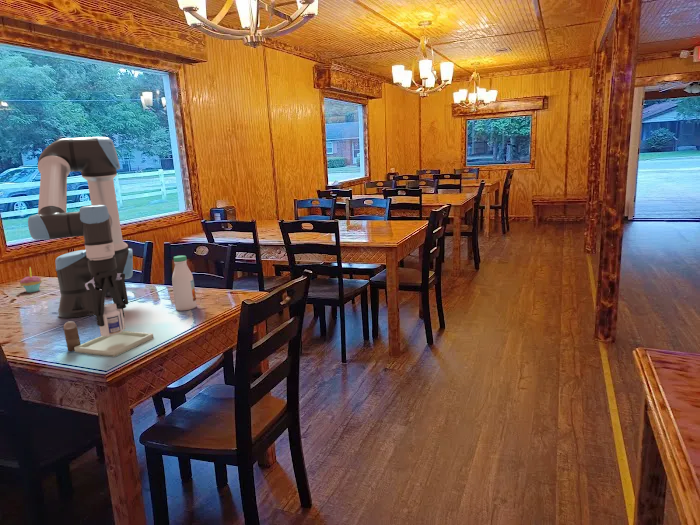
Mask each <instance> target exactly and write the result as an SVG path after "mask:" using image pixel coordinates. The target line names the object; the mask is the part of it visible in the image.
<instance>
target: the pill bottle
mask: <svg viewBox="0 0 700 525" xmlns="http://www.w3.org/2000/svg"><path fill="white" fill-rule="evenodd" d="M116 309H117V306H116V304H115V303H114V302H113V303H107V304H105V303H104V315H107V321H108V328H109V334H110V336H111V335H116V334H119V333H121V332H122V331H124V330H122V323H121V317H120V312H119V311H118V310H116Z"/></svg>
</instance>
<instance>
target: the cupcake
mask: <svg viewBox="0 0 700 525" xmlns="http://www.w3.org/2000/svg"><path fill="white" fill-rule="evenodd" d="M42 281H43V280H42V279H41V277H39V276H37V275H32V268H31V267H29V276H25V277H23V278H22V279H21V280H20V281H19V284H20V286H21V287H23V288H24V289H25V291H26V292H27V293H35V292H39V291H40V286H41V283H42Z"/></svg>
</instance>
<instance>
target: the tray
mask: <svg viewBox="0 0 700 525" xmlns="http://www.w3.org/2000/svg"><path fill="white" fill-rule="evenodd" d="M152 339H154V333H149V332H142V331H141V332H140V331H130V330H129V331H127V330H123V331H122V332H121V333H119V334H116V335H111V336H101V335H100V336H98V337H95V338H93V339H91V340H88V341H86V342H84V343H80V344H81V345H79V346H76V347H74V350H75V351H74V352H75V353H77V354H78V353H80V354H86V353H87V354H88V355H96V356H102V357H103V356H104V357H112V358H115V357H117V356H119V355H120V356H121V354H124V353H126V352H128V351H130V350H131V349H135V348H136V347H139V346H140V345H142V344H144V343H147V342H148V341H151V340H152Z"/></svg>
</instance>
